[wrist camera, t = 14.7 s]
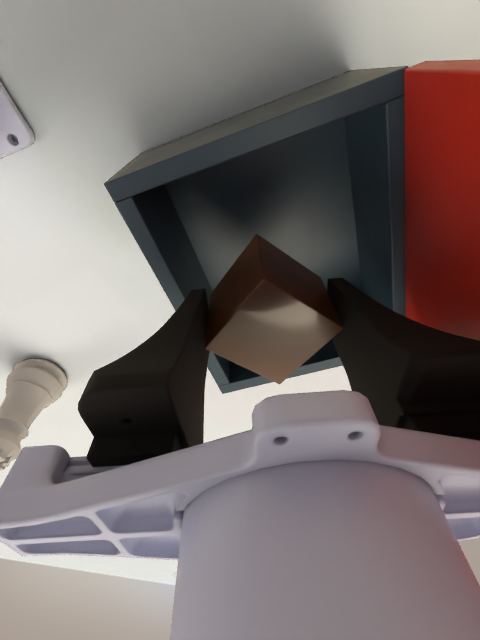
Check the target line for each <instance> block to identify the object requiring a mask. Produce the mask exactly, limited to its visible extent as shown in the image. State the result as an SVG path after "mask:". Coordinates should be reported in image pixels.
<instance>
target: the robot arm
mask: <svg viewBox="0 0 480 640" xmlns="http://www.w3.org/2000/svg"><path fill="white" fill-rule="evenodd" d="M12 134H13V135H15V136H16V137H17V139H18V144H16V143H15V142H14V141H13V140H12V138H11V137H12ZM34 141H35V139H34V134H33V132H32V131H31V129H30V127H29V126H28V124H27V123H26V121H25V120H24V118H23V116H22V115H21V113H20V112H19V110H18V109H17V107H16V105H15V104H14V102H13V101H12V99H11V98H10V96H9V94H8V93H7V91H6V90H5V88H4V87H3V85H2V83H1V82H0V159H1V158H3V157H5V156H8V155H10V154H12V153H15V152H17V151H19V150H22V149H24V148H26V147H29V146H31V145H32V144H33V143H34ZM327 294H328V296H329V298H330V300H331V302H332V305H333V306H334V308H335V310H336V312H337V314H338V316H339V318H340V321H341V323H342V325H343V327H344V328H343V329H342V330H341V331H340V332H339V333H338V334H337V335H335V336H334V337H333V338H332V341H333V343H334V346H335V348H336V350H337V352H338V355H339V357H340V359H341V361H342V364H343V366H344V368H345V371H346V373H347V376H348V379H349V382H350V386H351V389H352V391H345V390H340V391H326V392H311V393H297V394H283V395H276V396H272V397H268V398H265V399H264V400H263V401H261V402H260V403H259V404H257V405H256V406H255V408H254V410H253V413H252V424H253V426H252V429H251V430H249V431H245V432H242V433H238V434H235V435H231V436H227V437H224V438H220V439H217V440H213V441H210V442H206V443H203V423H204V389H205V378H206V372H207V365H208V358H209V352H210V351H209V350H207V349H205V340H206V331H207V325H208V316H209V308H208V302H207V296H206V290H205V289H192V290H191V291H190V293H189V294H188V296H187V297H186V298H185V300H184V301H183V303H182V304H181V305H180V307H179V308H178V309H177V310H176V312H175V313H174V314H173V315H172V316H171V318H170V319H169V320H168V321H167V322H166V323H165V324H164V325H163V326H162V327H161V328H160V329H159V330H158V331H157V332H156V333H155V334H154V335H153V336H151V337H150V338H149V339H148V340H146V341H145V342H144V343H142V344H141V345H140V346H138V347H137V348H136V349H134V350H132V351H131V352H129V353H128V354H126V355H124V356H123V357H121V358H119V359H118V360H116V361H114V362H112V363H110V364H108V365H106V366H104V367H102V368H100V369H98V370H95V371H94V372H93V374H92V376H91V378H90V379H89V381H88V383H87V386H86V388H85V390H84V392H83V394H82V396H81V399H80V401H79V403H78V411H79V413H80V416H81V417H82V419H83V420H84V422H85V424H86V425H87V427H88V428H89V430H90V431H91V433H92V434H93V436H94V439H93V441H92V444H91V447H90V449H89V452H88V454H87V456H85V457H70V456H69V454H68V453H67V451H66V450H65V449H64V448H62V447H60V446H56V445H48V446H33V447H25V448H23V449H22V450H21V452H20V454H19V456H18V458H17V459H16V461H15V463H14V465H13V466H12V468H11V470H10V472H9V474H8V475H7V477H6V479H5V481H4V483H3V484H2V486H1V488H0V541H1V542H2V543H4V544H5V545H7V546H8V547H10V548H11V549H13V550H14V551H16V552H17V553H19V554H20V555H22V556H39V555H88V556H110V557H127V558H145V559H162V560H178V567H177V577H176V586H175V596H174V605H173V615H172V624H171V634H170V640H480V586H479V584H478V582H477V580H476V578H475V576H474V574H473V572H472V569H471V567H470V566H469V563H468V561H467V559H466V557H465V555H464V553H463V551H462V550H461V547H460V545H459V543H458V541H462V540H468V539H474V538H480V341H479V340H475V339H471V338H466V337H462V336H458V335H454V334H451V333H447V332H444V331H441V330H438V329H435V328H432V327H429V326H426V325H424V324H421V323H419V322H416V321H414V320H411V319H409V318H407V317H405V316H403V315H401V314H398V313H396V312H394V311H393V310H391V309H389V308H387V307H385V306H384V305H382V304H380V303H379V302H377V301H375V300H374V299H372V298H371V297H369V296H368V295H366V294H365V293H363V292H362V291H360V290H359V289H358V288H356V287H355V286H353V285H352V284H351V283H349V282H348V281H346V280H345V279H343V278H332V279H328V286H327Z"/></svg>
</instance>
